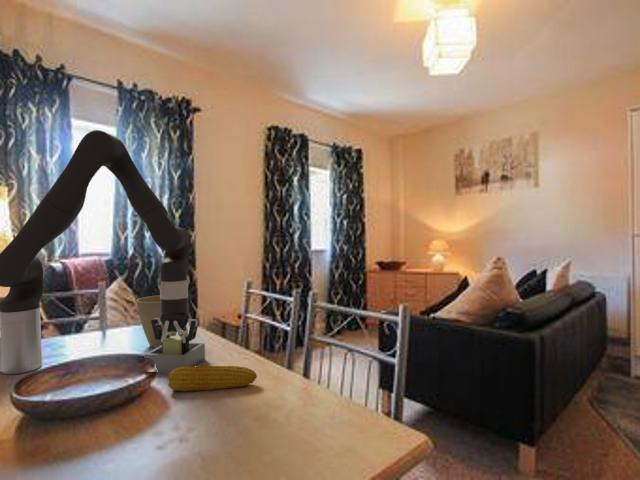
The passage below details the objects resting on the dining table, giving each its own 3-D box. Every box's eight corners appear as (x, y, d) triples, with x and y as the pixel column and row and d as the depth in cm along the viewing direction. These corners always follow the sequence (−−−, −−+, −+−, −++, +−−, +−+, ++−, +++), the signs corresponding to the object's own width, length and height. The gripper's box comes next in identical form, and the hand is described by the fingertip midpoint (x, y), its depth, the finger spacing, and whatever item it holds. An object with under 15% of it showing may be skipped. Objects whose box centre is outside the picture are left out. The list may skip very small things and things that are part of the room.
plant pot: (193, 341, 137) (192, 296, 137) (155, 353, 125) (154, 303, 124) (166, 335, 145) (165, 293, 145) (128, 346, 133) (127, 299, 132)
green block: (162, 358, 111) (162, 341, 111) (172, 352, 116) (171, 336, 116) (179, 359, 111) (178, 341, 110) (188, 353, 116) (187, 336, 115)
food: (167, 396, 93) (166, 372, 93) (172, 387, 99) (171, 363, 99) (257, 389, 97) (256, 365, 97) (256, 380, 102) (256, 358, 102)
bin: (144, 372, 109) (144, 354, 109) (168, 357, 121) (167, 341, 120) (185, 374, 107) (184, 356, 107) (204, 359, 119) (204, 343, 118)
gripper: (143, 297, 110) (145, 357, 111) (191, 298, 108) (192, 359, 109) (158, 293, 118) (160, 349, 118) (203, 294, 116) (204, 351, 116)
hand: (175, 354), depth 114 cm, fingers closed on green block, 5 cm apart
